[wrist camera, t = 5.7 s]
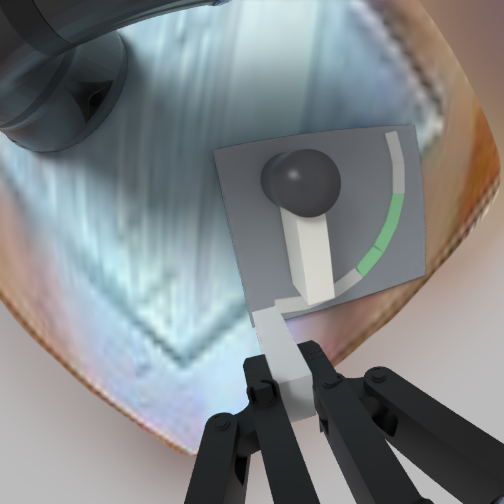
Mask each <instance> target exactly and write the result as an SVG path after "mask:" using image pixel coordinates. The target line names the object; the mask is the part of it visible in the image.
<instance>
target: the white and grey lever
mask: <svg viewBox="0 0 504 504" xmlns="http://www.w3.org/2000/svg"><path fill="white" fill-rule="evenodd" d="M261 186H262V190H263V192H264V194H265V195H266V197H267V198H268V199H269V200H270V201H271V202H273V203H274V204H276V205H278V206H280V211H281V217H282V223H283V228H284V234H285V240H286V246H287V252H288V258H289V264H290V270H291V276H292V283H293V285H294V286H295V287H296V289H297V290H298V291H299V293H300V294H301V295H302V297H303V298H304V300H305V301H306V302H307V304H308V305H311V304H315V303H318V302H322V301H325V300H329V299H332V298H335V295H334V284H333V274H332V264H331V255H330V247H329V239H328V231H327V223H326V216H325V213H326V212H327V211H329V210H330V209H331V208H332V207H333V206H334V204H335V203H336V201H337V199H338V197H339V194H340V190H341V177H340V173H339V170H338V168H337V166H336V164H335V163H334V161H333V160H332V159H331V158H330V157H329V156H328V155H326V154H325V153H323V152H321V151H318V150H314V149H302V150H296V151H291V152H285V153H281V154H278V155H275V156H274V157H272V158H271V159H270V160H268V161H267V163H266V164H265V166H264V167H263V170H262V173H261Z"/></svg>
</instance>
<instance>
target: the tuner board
mask: <svg viewBox="0 0 504 504" xmlns="http://www.w3.org/2000/svg"><path fill="white" fill-rule="evenodd" d="M302 149H314V150H318V151H321V152H323V153H325V154H326V155H328V156H329V157H330V158H331V159H332V160H333V161H334V163H335V164H336V166H337V168H338V170H339V173H340V177H341V190H340V194H339V197H338V199H337V201H336V203H335V204H334V206H333V207H332V208H331V209H330V210H329V211H327V212H326V213H325V216H326V223H327V231H328V239H329V247H330V255H331V264H332V274H333V284H334V295H335V298H332V299H329V300H325V301H322V302H318V303H315V304H311V305H308V304H307V302H306V301H305V300H304V298H303V297H302V295H301V294H300V293H299V291H298V290H297V289H296V287H295V286H294V285H293V283H292V276H291V270H290V264H289V258H288V252H287V246H286V240H285V234H284V228H283V223H282V217H281V211H280V206H278V205H276V204H274V203H273V202H271V201H270V200H269V199H268V198H267V197H266V195H265V194H264V192H263V190H262V186H261V173H262V170H263V167H264V166H265V164H266V163H267V161H268V160H270V159H271V158H272V157H274V156H275V155H278V154H281V153H285V152H291V151H296V150H302ZM213 154H214V158H215V163H216V168H217V173H218V177H219V182H220V187H221V191H222V196H223V201H224V205H225V210H226V214H227V219H228V223H229V228H230V233H231V237H232V242H233V246H234V250H235V255H236V259H237V264H238V268H239V273H240V277H241V281H242V286H243V290H244V294H245V299H246V303H247V307H248V312H249V316H250V320H251V324H252V327H253V328H254V327H255V323H254V319H253V315H252V312H254V311H259V310H263V309H266V308H270V307H274V306H277V308H278V310H279V311H280V313H281V315H282V317H283V319H284V320H285V319H289V318H293V317H296V316H300V315H303V314H307V313H310V312H314V311H317V310H321V309H324V308H328V307H331V306H334V305H338V304H341V303H344V302H347V301H350V300H354V299H357V298H360V297H363V296H366V295H369V294H372V293H375V292H378V291H381V290H384V289H387V288H390V287H393V286H396V285H399V284H401V283H404V282H407V281H410V280H413V279H415V278H418V277H421V276H423V275H425V211H424V195H423V183H422V173H421V164H420V156H419V149H418V142H417V135H416V129H415V125H400V126H379V127H364V128H352V129H341V130H331V131H322V132H314V133H306V134H298V135H291V136H284V137H278V138H272V139H265V140H260V141H254V142H248V143H243V144H238V145H233V146H228V147H223V148H218V149H214V150H213Z"/></svg>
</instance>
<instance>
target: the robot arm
mask: <svg viewBox="0 0 504 504" xmlns="http://www.w3.org/2000/svg"><path fill="white" fill-rule="evenodd" d="M229 1H231V0H0V131H1V132H3V133H4V134H5V135H6V136H7V137H8V138H9V139H10V140H11V141H12V142H13V143H15V144H16V145H18V146H19V147H21V148H24V149H27V150H31V151H43V152H52V151H58V150H62V149H65V148H68V147H70V146H72V145H74V144H76V143H78V142H80V141H81V140H83V139H84V138H86V137H87V136H88V135H89V134H91V133H92V132H93V131H94V130H95V129H96V128H97V127H98V126H99V125H100V124H101V123H102V122H103V121H104V119H105V118H106V117H107V116H108V114H109V113H110V111H111V110H112V108H113V107H114V105H115V103H116V101H117V99H118V97H119V95H120V93H121V90H122V88H123V85H124V81H125V77H126V71H127V54H126V49H125V46H124V43H123V41H122V39H121V38H120V36H119V35H118V33H117V32H116V30H117V29H120V28H123V27H125V26H128V25H131V24H134V23H137V22H140V21H143V20H146V19H149V18H153V17H156V16H160V15H164V14H168V13H172V12H176V11H180V10H184V9H189V8H194V7H199V6H204V5H212V6H217V5H222V4H225V3H227V2H229ZM252 315H253V319H254V323H255V328H256V332H257V336H258V341H259V345H260V349H261V352H262V355H258V356H254V357H250V358H246V359H245V361H244V364H243V369H244V373H245V378H246V383H247V391H246V392H247V395H248V399H249V404H248V406H247V407H246V408H245V409H244V410H243V411H241V412H239V413H237V414H235V415H232V414H230V413H225V412H223V413H218V414H215V415H213V416H212V417H210V418H209V419H208V421H207V423H206V425H205V429H204V432H203V436H202V440H201V443H200V447H199V451H198V454H197V458H196V462H195V465H194V469H193V473H192V477H191V480H190V484H189V487H188V491H187V495H186V498H185V502H184V504H245V497H246V490H247V481H248V473H249V465H250V457H251V454H253V453H255V452H257V451H259V450H261V453H262V457H263V461H264V465H265V470H266V474H267V478H268V482H269V486H270V490H271V494H272V497H273V501H274V504H320V502H319V499H318V497H317V494H316V491H315V489H314V486H313V483H312V481H311V478H310V475H309V473H308V470H307V467H306V464H305V462H304V459H303V456H302V454H301V451H300V448H299V446H298V443H297V440H296V437H295V435H294V432H293V429H292V426H291V422H295V421H298V420H301V419H305V418H308V417H312V416H314V415H316V411H317V413H318V415H319V424H320V432H324V434H325V436H326V438H327V440H328V443H329V445H330V447H331V449H332V451H333V454H334V456H335V458H336V460H337V462H338V464H339V467H340V468H341V471H342V473H343V475H344V478H345V480H346V482H347V484H348V486H349V488H350V490H351V493H352V495H353V497H354V499H355V501H356V503H357V504H434V503H433V502H432V501H431V500H430V499H426V498H423V497H421V495H420V494H419V492H418V491H417V489H416V487H415V486H414V484H413V483H412V481H411V479H410V478H409V476H408V475H407V473H406V472H405V470H404V469H403V467H402V465H401V464H400V462H399V461H398V459H397V457H396V456H395V454H394V453H393V451H392V450H391V448H390V447H389V445H388V443H387V442H386V440H387V441H388V442H389V443H390V444H391V445H392V446H393V447H395V448H396V449H397V450H398V451H399V452H400V453H402V454H403V455H404V456H405V457H406V458H408V459H409V460H410V461H411V462H412V463H413V464H415V465H416V466H417V467H418V468H419V469H421V470H422V471H423V472H424V473H425V474H427V475H428V476H429V477H430V478H432V479H433V480H434V481H435V482H437V483H438V484H439V485H440V486H441V487H443V488H444V489H445V490H446V491H448V492H449V493H450V494H452V495H453V496H454V497H455V498H457V499H458V500H459V501H460V502H462V503H463V504H504V444H503V443H502V442H500V441H498V440H496V439H495V438H494V437H492V436H491V435H489V434H487V433H486V432H484V431H483V430H481V429H480V428H478V427H476V426H475V425H473V424H472V423H470V422H469V421H467V420H466V419H464V418H463V417H461V416H460V415H458V414H456V413H455V412H453V411H452V410H450V409H449V408H447V407H446V406H444V405H443V404H441V403H440V402H438V401H437V400H435V399H434V398H432V397H431V396H429V395H428V394H426V393H425V392H423V391H422V390H420V389H419V388H417V387H415V386H414V385H412V384H411V383H410V382H408V381H407V380H405V379H404V378H402V377H400V376H399V375H398V374H396V373H395V372H393V371H392V370H390V369H388V368H386V367H380V366H379V367H373V368H371V369H369V370H368V371H367V372H366V373H365V375H364V377H361V378H345V377H344V376H343V375H341V374H339V373H337V372H336V371H335V369H334V367H333V366H332V364H331V363H330V361H329V360H328V358H327V356H326V355H325V353H324V352H323V351H322V349H321V347H320V345H319V344H317V343H316V342H314V341H312V340H311V341H307V342H304V343H300V344H296V342H295V340H294V339H293V337H292V335H291V333H290V331H289V329H288V327H287V325H286V323H285V321H284V319H283V317H282V315H281V313H280V311H279V310H278V308H277V306H274V307H270V308H266V309H263V310H259V311H254V312H252ZM385 439H386V440H385Z"/></svg>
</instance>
